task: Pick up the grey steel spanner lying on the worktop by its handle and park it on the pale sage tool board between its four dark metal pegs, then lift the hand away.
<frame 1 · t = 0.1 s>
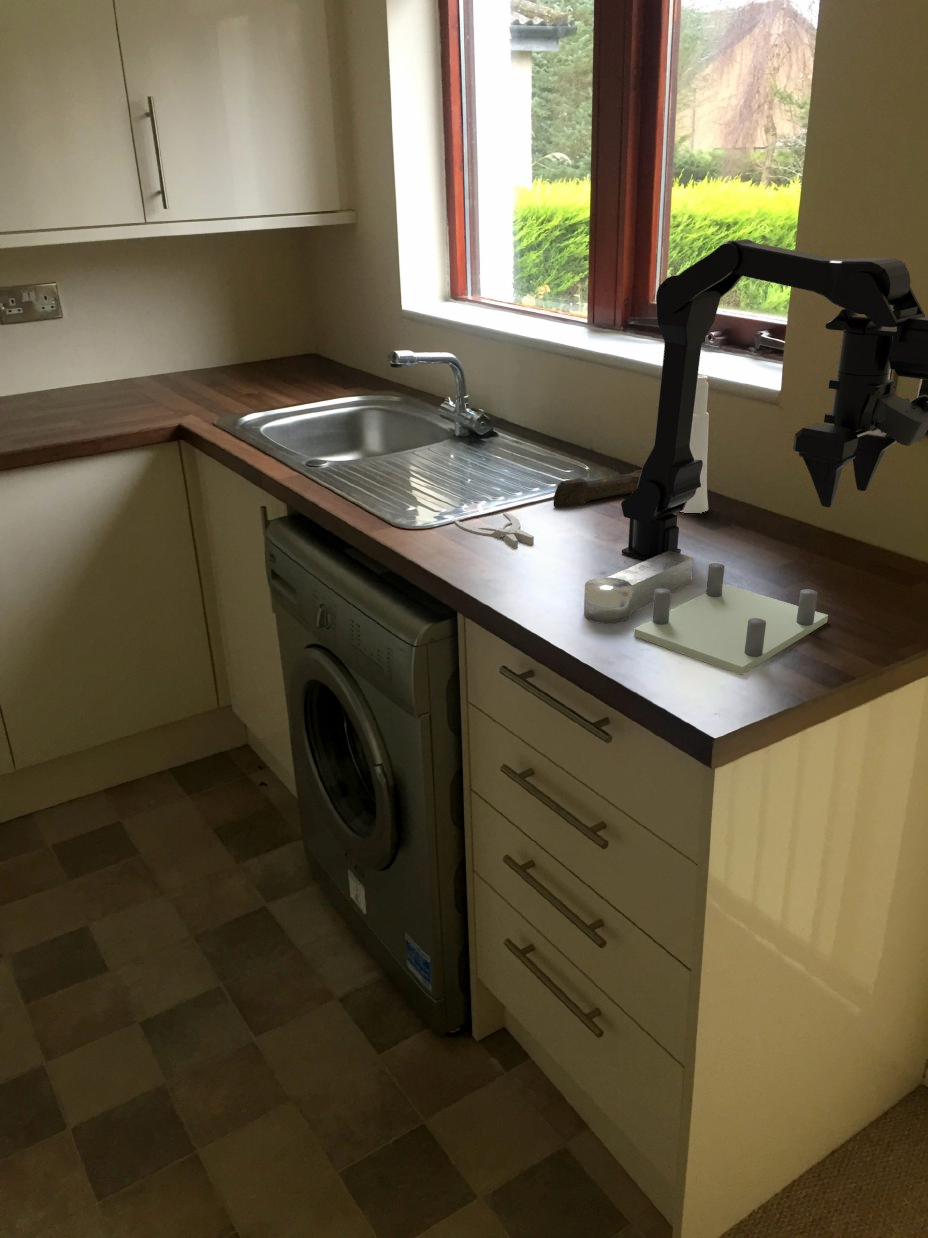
hand: (844, 498, 126), 15 cm above the worktop, tool pointing down, fingers open, 9 cm apart
peg board: (731, 629, 126), on the worktop
pliers: (501, 535, 161), on the worktop
cosmetic bottle: (689, 509, 170), on the worktop
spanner: (648, 595, 137), on the worktop
hand tool: (601, 502, 175), on the worktop
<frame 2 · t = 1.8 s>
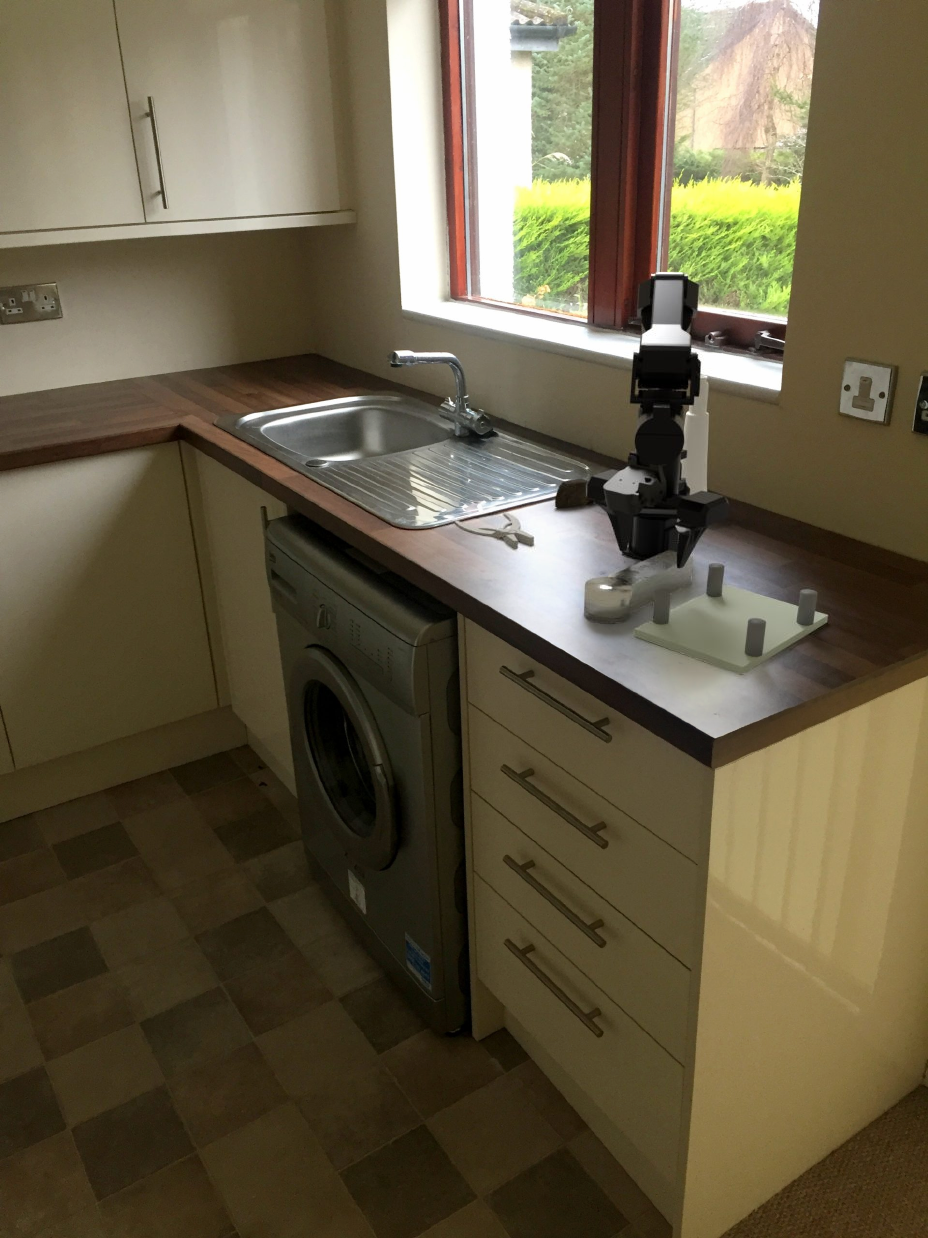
hand: (651, 558, 135), 5 cm above the worktop, tool pointing down, fingers open, 9 cm apart
nothing on the worktop moved.
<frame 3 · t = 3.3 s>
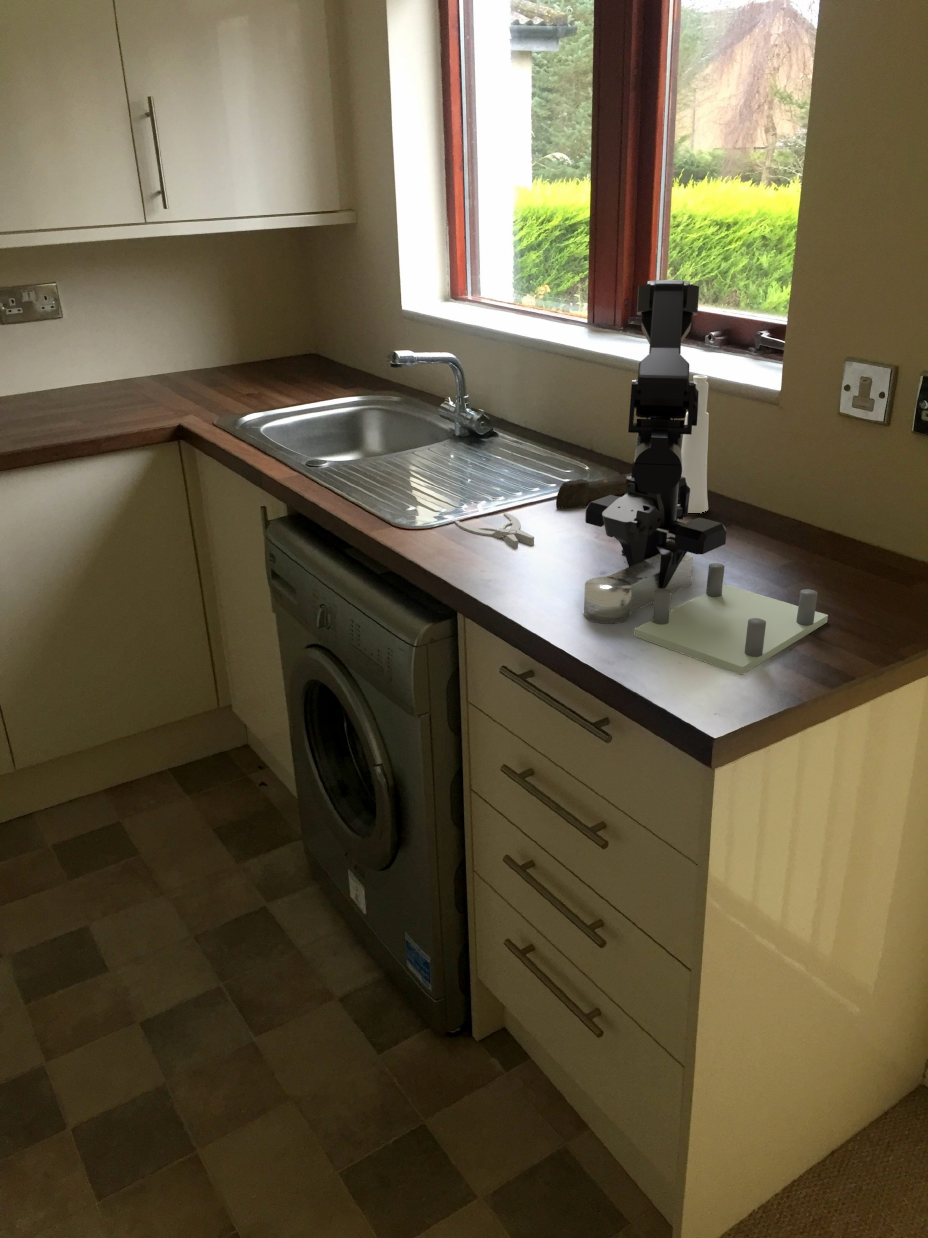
hand: (649, 584, 136), 2 cm above the worktop, tool pointing down, fingers closed on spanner, 4 cm apart
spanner: (648, 594, 137), on the worktop, touching gripper
everything else where it was.
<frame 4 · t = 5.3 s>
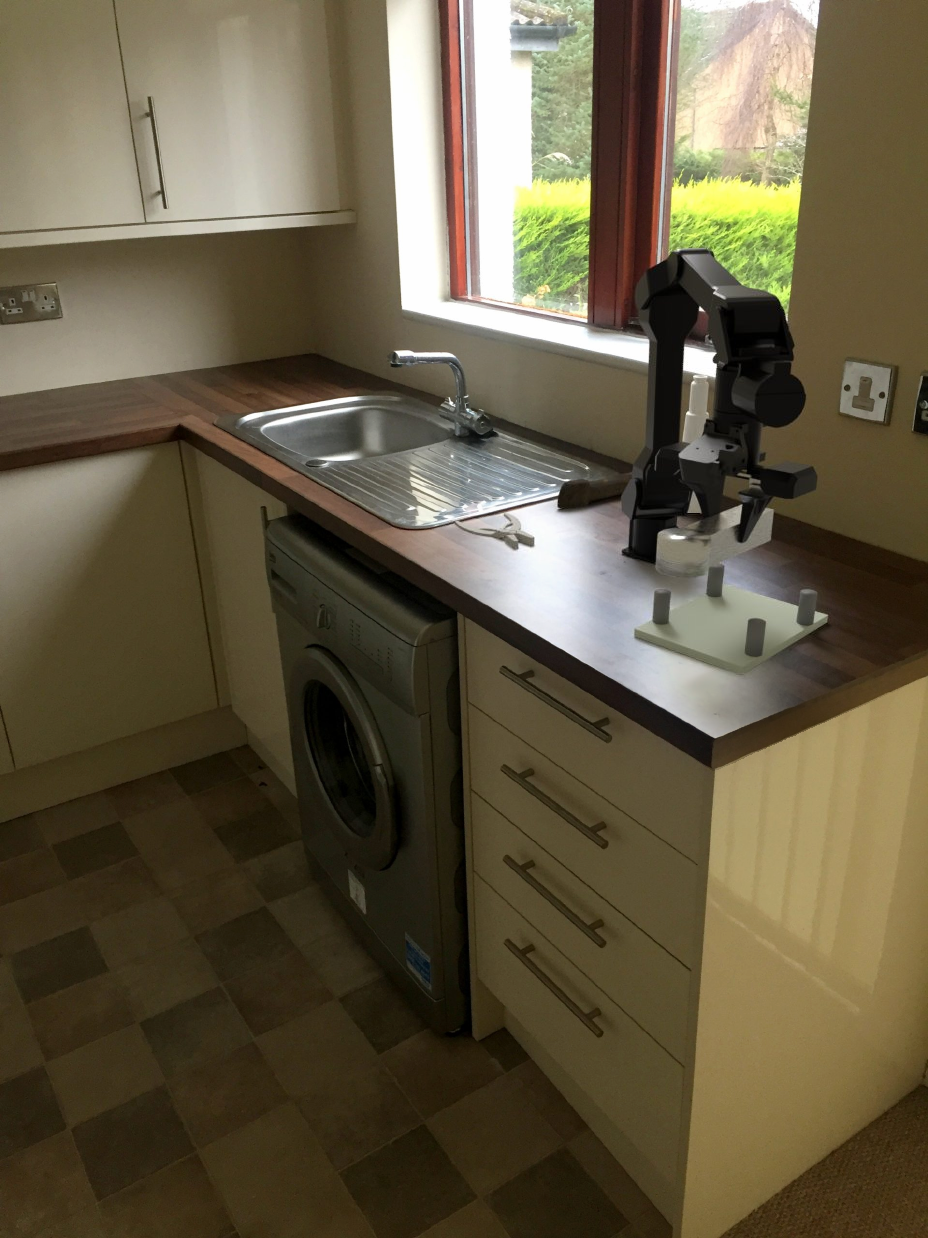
hand: (726, 538, 123), 11 cm above the worktop, tool pointing down, fingers closed on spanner, 4 cm apart
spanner: (725, 550, 123), point 10 cm above the worktop, touching gripper
everything else where it was.
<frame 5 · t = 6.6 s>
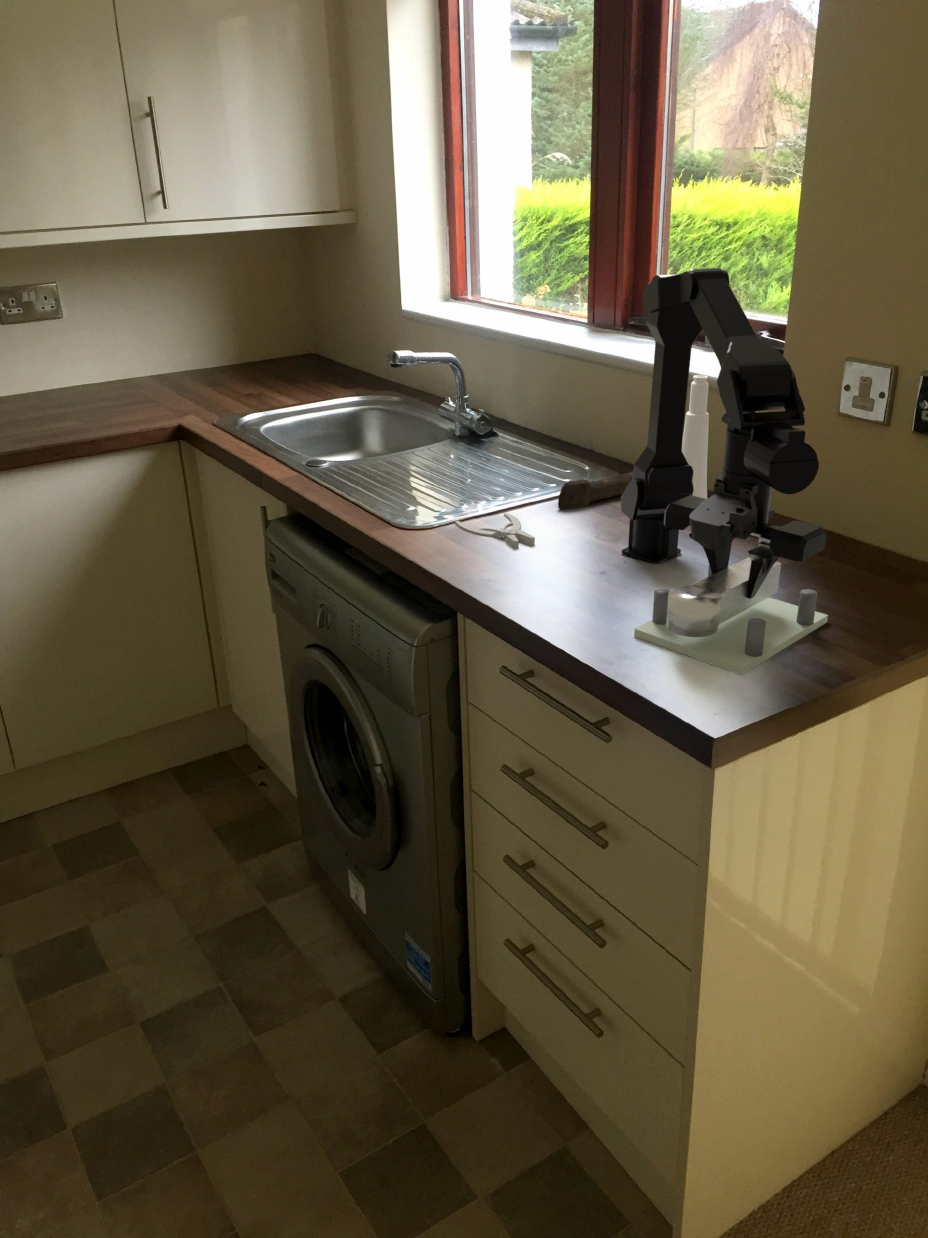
hand: (735, 592, 124), 5 cm above the worktop, tool pointing down, fingers closed on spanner, 4 cm apart
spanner: (733, 604, 125), point 3 cm above the worktop, touching gripper
everything else where it was.
when the fingers open (4 cm above the worktop, at t = 7.5 s): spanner drops 1 cm, resting on peg board.
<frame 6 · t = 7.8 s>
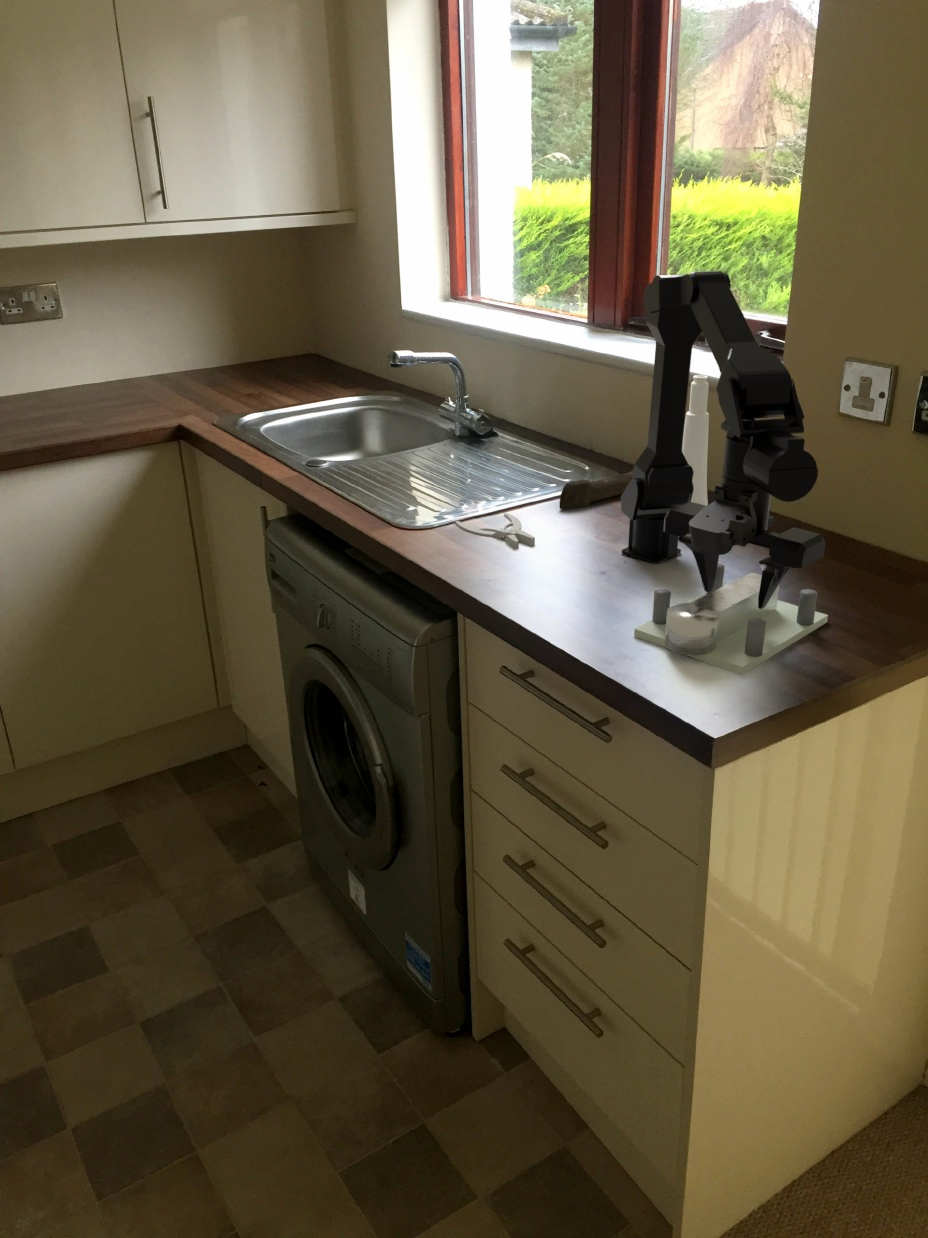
hand: (734, 599, 124), 4 cm above the worktop, tool pointing down, fingers open, 7 cm apart
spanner: (732, 621, 126), point 1 cm above the worktop, touching peg board
everything else where it was.
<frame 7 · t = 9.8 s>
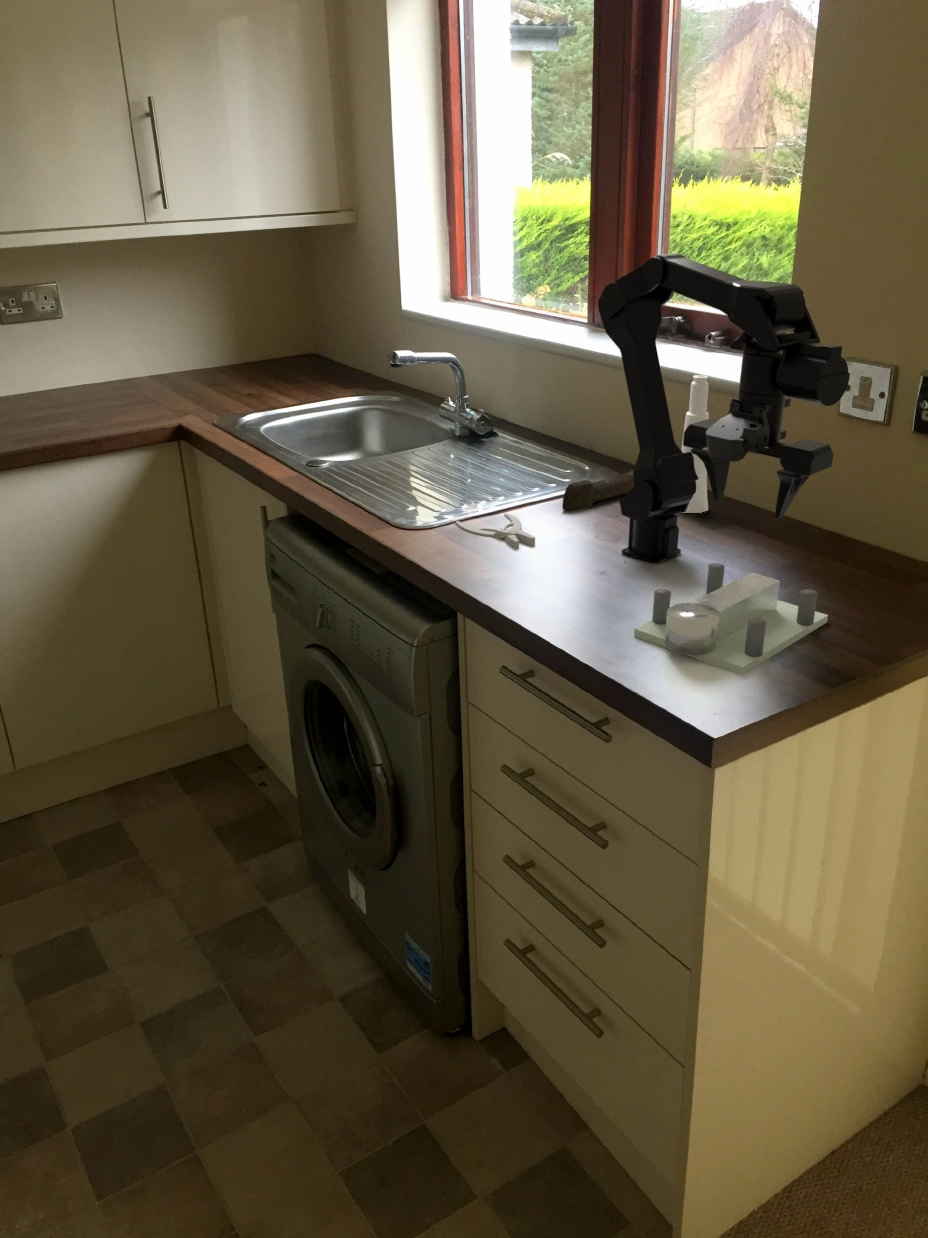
hand: (747, 509, 133), 11 cm above the worktop, tool pointing down, fingers open, 9 cm apart
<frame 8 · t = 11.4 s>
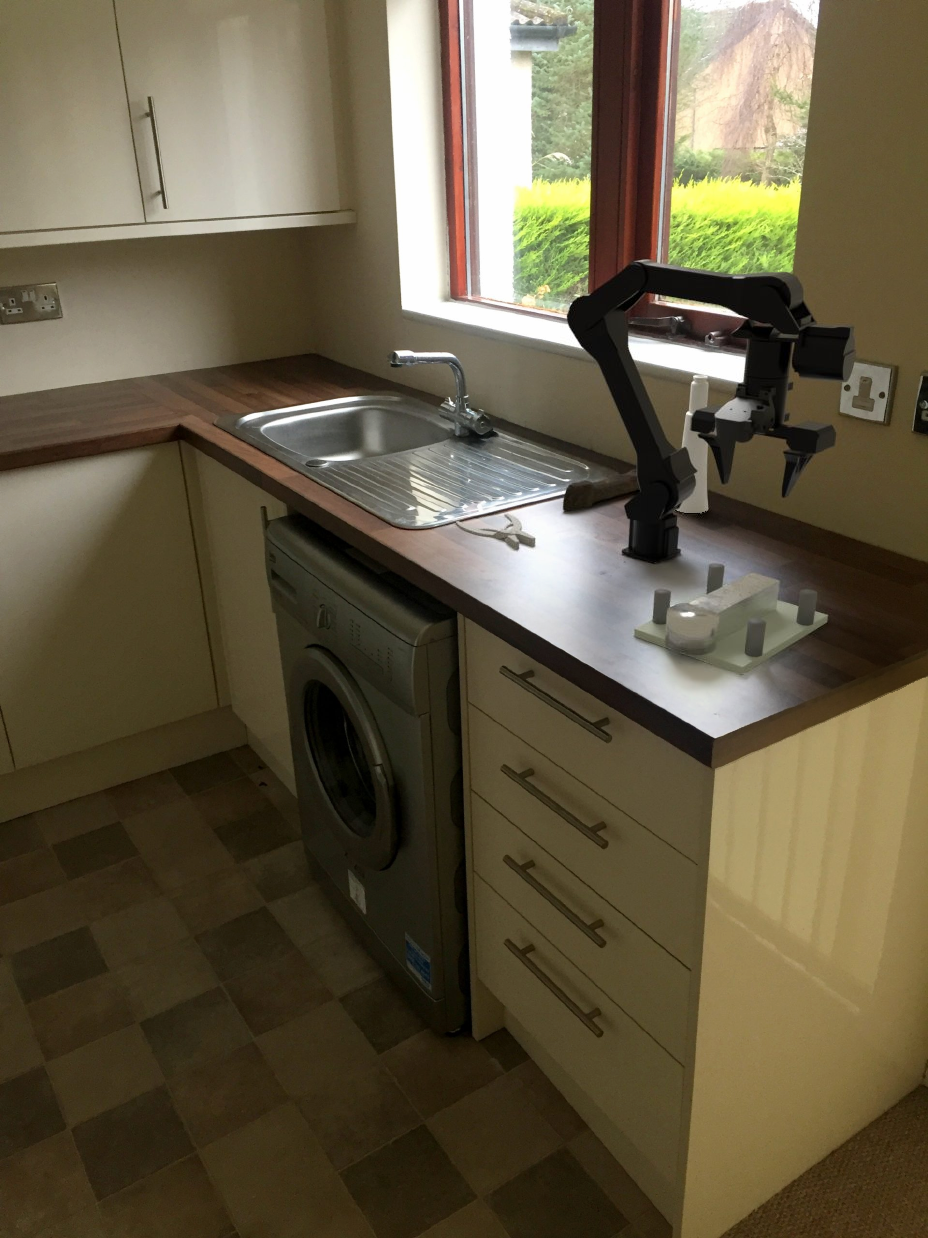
hand: (754, 490, 138), 12 cm above the worktop, tool pointing down, fingers open, 9 cm apart
nothing on the worktop moved.
at the end: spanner 0.0 cm off-centre on the peg board, point 1.0 cm above the peg board's base; the gripper is holding nothing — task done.
